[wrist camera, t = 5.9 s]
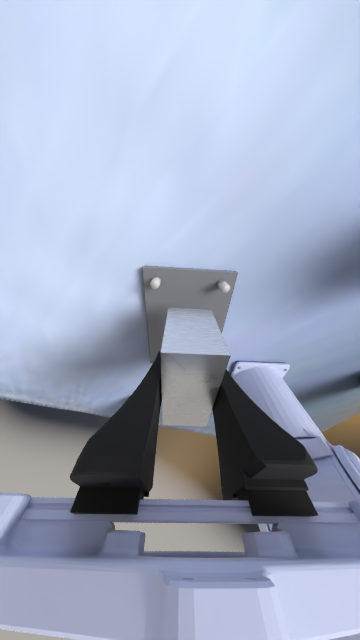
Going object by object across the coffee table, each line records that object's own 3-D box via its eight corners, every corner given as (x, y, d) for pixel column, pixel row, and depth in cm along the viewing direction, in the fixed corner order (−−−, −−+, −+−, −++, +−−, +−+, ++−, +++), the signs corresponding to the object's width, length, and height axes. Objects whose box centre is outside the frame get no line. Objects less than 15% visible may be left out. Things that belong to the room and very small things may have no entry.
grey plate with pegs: (211, 361, 20) (215, 374, 18) (151, 358, 20) (148, 372, 18) (235, 270, 14) (244, 276, 12) (144, 265, 13) (138, 270, 11)
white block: (198, 373, 15) (206, 426, 11) (167, 372, 15) (162, 425, 11) (211, 309, 11) (230, 355, 7) (168, 307, 11) (160, 352, 7)
